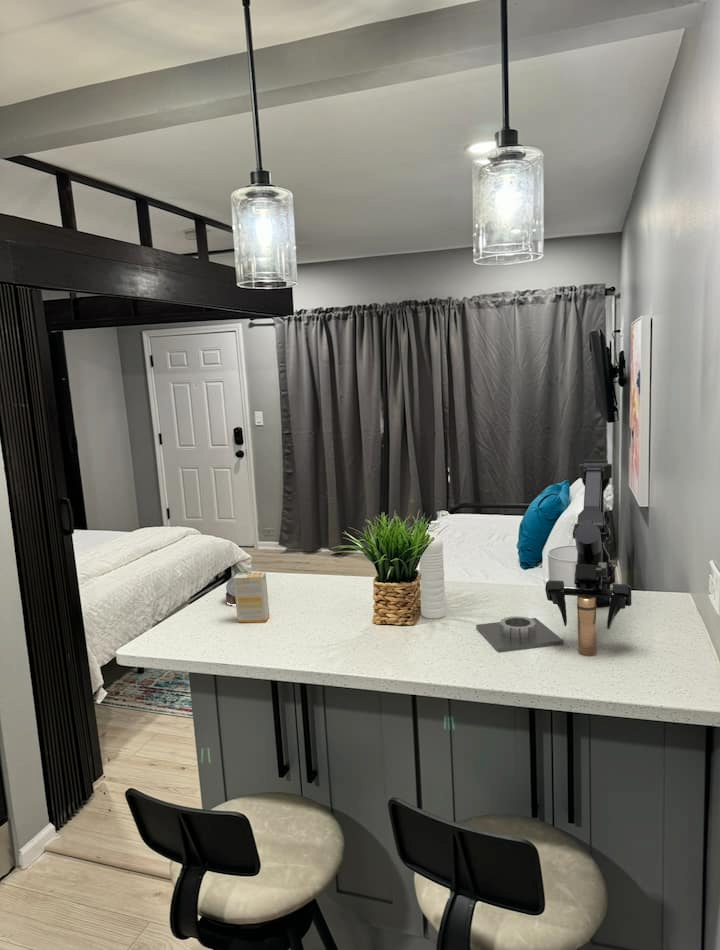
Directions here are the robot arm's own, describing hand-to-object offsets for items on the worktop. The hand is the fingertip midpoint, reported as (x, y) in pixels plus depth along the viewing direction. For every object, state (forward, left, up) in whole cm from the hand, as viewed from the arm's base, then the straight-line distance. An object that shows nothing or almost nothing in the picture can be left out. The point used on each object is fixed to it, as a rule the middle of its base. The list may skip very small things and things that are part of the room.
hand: (586, 626), depth 157 cm
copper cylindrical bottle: (-1, -1, -7) cm, 7 cm away
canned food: (+77, -66, -7) cm, 102 cm away
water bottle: (+25, -37, -7) cm, 45 cm away
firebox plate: (+10, -15, -7) cm, 19 cm away
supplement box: (+74, -48, -7) cm, 89 cm away
